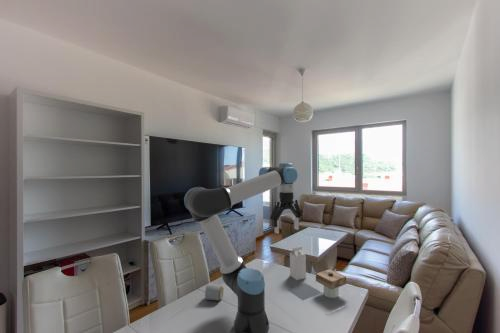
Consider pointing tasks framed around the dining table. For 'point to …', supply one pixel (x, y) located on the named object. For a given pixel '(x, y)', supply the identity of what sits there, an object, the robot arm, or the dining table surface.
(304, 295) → the mat
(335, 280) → the lid
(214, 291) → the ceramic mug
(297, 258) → the milk carton
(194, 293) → the dining table surface
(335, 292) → the octagonal pipe section
